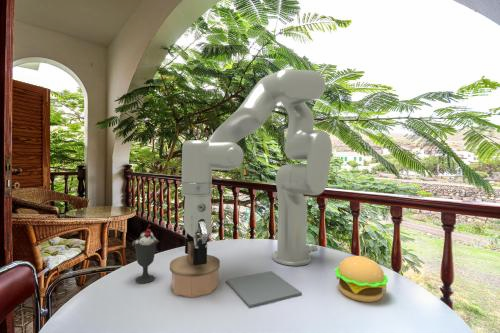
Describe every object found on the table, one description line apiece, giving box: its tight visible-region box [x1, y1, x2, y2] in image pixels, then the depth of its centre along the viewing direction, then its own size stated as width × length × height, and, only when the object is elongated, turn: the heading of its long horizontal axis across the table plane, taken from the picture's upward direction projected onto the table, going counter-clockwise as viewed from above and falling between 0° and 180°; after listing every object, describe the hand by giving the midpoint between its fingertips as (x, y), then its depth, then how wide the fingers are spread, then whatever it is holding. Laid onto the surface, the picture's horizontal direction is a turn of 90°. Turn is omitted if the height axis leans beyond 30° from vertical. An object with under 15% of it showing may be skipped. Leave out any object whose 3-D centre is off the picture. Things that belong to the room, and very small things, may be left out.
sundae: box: [131, 224, 160, 285], centre depth 69 cm, size 7×7×15 cm
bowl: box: [170, 269, 219, 298], centre depth 66 cm, size 11×11×5 cm
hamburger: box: [334, 255, 389, 303], centre depth 64 cm, size 12×12×9 cm
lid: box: [169, 239, 221, 277], centre depth 66 cm, size 12×12×6 cm
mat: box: [225, 271, 303, 309], centre depth 66 cm, size 14×14×1 cm
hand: (195, 258), depth 66 cm, fingers open, 8 cm apart
